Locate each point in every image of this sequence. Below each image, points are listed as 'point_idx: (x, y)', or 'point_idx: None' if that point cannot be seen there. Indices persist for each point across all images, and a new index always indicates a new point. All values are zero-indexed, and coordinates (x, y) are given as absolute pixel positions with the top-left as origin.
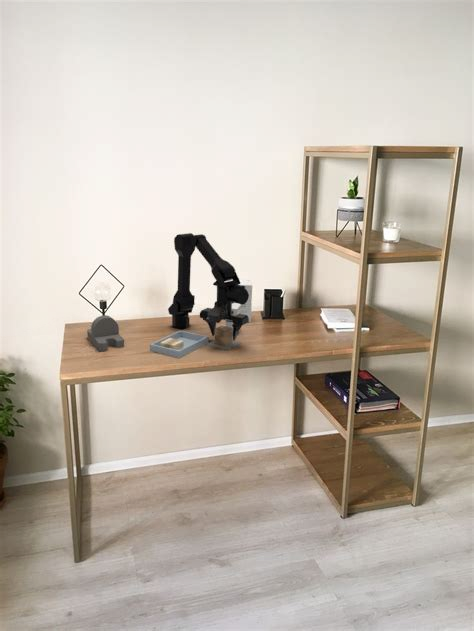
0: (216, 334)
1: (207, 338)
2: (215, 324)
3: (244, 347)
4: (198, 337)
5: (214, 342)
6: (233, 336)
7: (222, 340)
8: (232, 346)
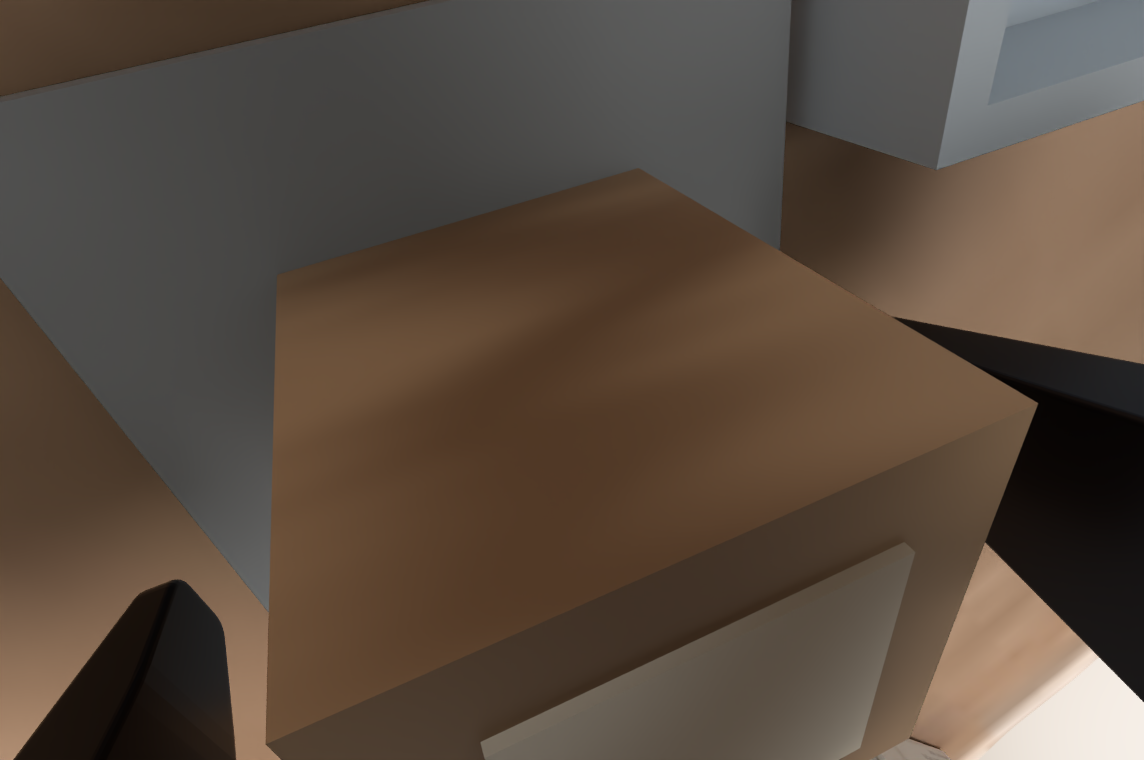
0: (748, 310)
1: (909, 98)
2: (1108, 637)
3: (26, 617)
4: (1126, 27)
5: (657, 179)
6: (85, 717)
7: (418, 313)
8: (144, 415)
